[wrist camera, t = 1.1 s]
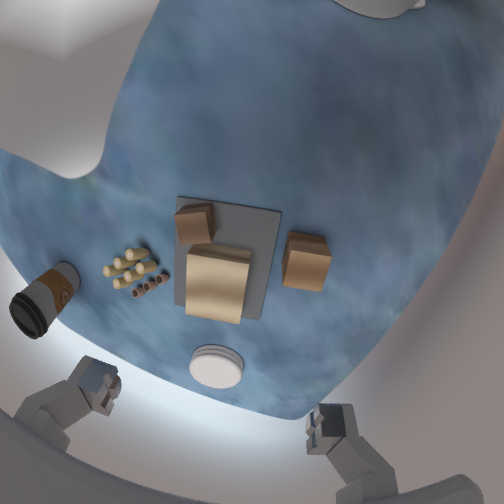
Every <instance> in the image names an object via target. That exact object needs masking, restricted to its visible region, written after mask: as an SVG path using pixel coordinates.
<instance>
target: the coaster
mask: <svg viewBox="0 0 504 504" xmlns="http://www.w3.org/2000/svg"><path fill="white" fill-rule="evenodd" d="M189 369H190V373H191V374H192V376H193V377H194V378H195V379H196V380H197V381H199V382H200V383H202V384H204V385H206V386H209V387H213V388H229V387H232V386H234V385H236V384H237V383H239V381H240V380H241V377H242V371H243V362H242V359H241V357H240V356H239V355H238V354H237V353H236V352H234V351H233V350H231V349H229V348H226V347H223V346H219V345H205V346H202V347H199V348H198V349H197V350H196V351H195V352H194V353H193V355H192V358H191V362H190V365H189Z"/></svg>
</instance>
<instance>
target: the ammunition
mask: <svg viewBox="0 0 504 504" xmlns="http://www.w3.org/2000/svg"><path fill="white" fill-rule="evenodd" d="M150 253H151V252H150V251H149V250H147V249H145V248H134V249H127V250H126V253H125V256H126V257H119V258H115V259H114V265H109V266H105V267H104V268H103V273H104V275H105V276H106V277H108V276H113V275H118V274H122V273H124V272H125V273H124V277H121V278H116V279H114V280H113V286H114V288H115V289H120V288H124V287H127V286H131V285H132V283H133V281H135V280H139V279H142V278H143V277H144V273H148V272H153V271H155V270H156V269H157V265H156V263H155V262H154V261H148V262H141V263H138V261H139V260H138V259H144V258H146V257H147V256H148V255H150ZM136 264H137V265H136ZM134 265H136V269H135V270H130V271H127V267H132V266H134ZM169 278H170V277H169V276H168V275H166V274H159V275H157V276H156V277H155V281H156V282H155V281H148V282H145V283H144V284H143V288H135V289H133V290H132V295H133V297H134V298H137V297H140V296H142V295H144V294H145V292H146V291H151V290H153V289H155V288H156V287H157V284H163V283H166V282H167V281H168V279H169Z"/></svg>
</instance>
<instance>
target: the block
mask: <svg viewBox="0 0 504 504" xmlns="http://www.w3.org/2000/svg"><path fill="white" fill-rule="evenodd" d="M174 218H175V223H176V227H177V232H178V236H179V241H180V245H190V244H202V243H211V241H212V240H213V238H214V236H215V234H216V232H217V227H216V222H215V216H214V210H213V204H212V202H211V203H202V204H194V205H186V206H183V207H182V208H181V209H180V210H179V211H178V212H177V213H176V214H175V215H174Z"/></svg>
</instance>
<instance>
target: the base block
mask: <svg viewBox="0 0 504 504" xmlns="http://www.w3.org/2000/svg"><path fill="white" fill-rule="evenodd" d="M251 252H252V251H251V250H245V249H239V248H233V247H227V246H221V245H215V244H209V243H202V244H193V245H192V247H191V248H190V250H189V252H188V253H187V270H186V314H188V315H193V316H198V317H203V318H208V319H213V320H219V321H224V322H230V323H236V324H240V318H241V312H242V307H243V300H244V294H245V288H246V282H247V276H248V270H249V264H250V258H251Z"/></svg>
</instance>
